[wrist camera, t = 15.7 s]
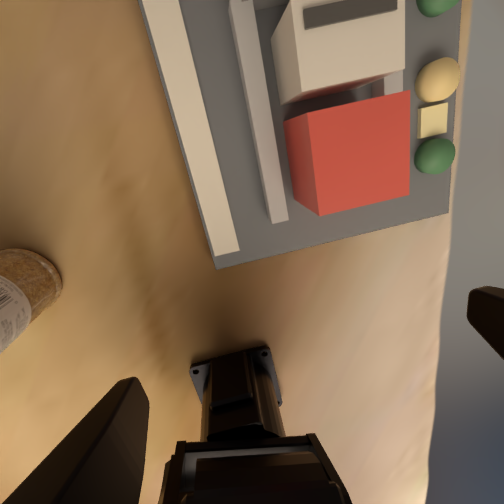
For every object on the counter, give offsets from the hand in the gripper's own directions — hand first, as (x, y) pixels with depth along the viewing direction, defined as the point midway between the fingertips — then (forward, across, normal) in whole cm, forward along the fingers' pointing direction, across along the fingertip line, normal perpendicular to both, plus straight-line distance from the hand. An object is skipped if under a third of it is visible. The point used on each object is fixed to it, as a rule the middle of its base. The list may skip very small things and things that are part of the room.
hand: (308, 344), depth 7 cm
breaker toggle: (+11, -5, -8) cm, 14 cm away
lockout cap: (+11, -5, -4) cm, 12 cm away
